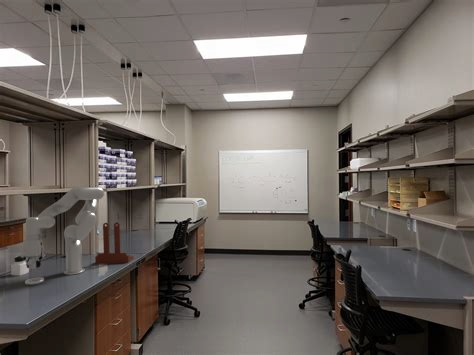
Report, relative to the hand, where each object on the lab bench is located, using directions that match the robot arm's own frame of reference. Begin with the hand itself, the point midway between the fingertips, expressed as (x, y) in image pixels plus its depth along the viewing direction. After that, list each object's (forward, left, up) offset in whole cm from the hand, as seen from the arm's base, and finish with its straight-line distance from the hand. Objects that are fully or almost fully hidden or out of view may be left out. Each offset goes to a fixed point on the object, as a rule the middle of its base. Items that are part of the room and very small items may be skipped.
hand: (33, 267), depth 204 cm
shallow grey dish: (0, 0, -9) cm, 9 cm away
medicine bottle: (-21, -20, -10) cm, 31 cm away
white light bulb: (0, 0, -1) cm, 1 cm away
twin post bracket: (-46, +36, -10) cm, 59 cm away
